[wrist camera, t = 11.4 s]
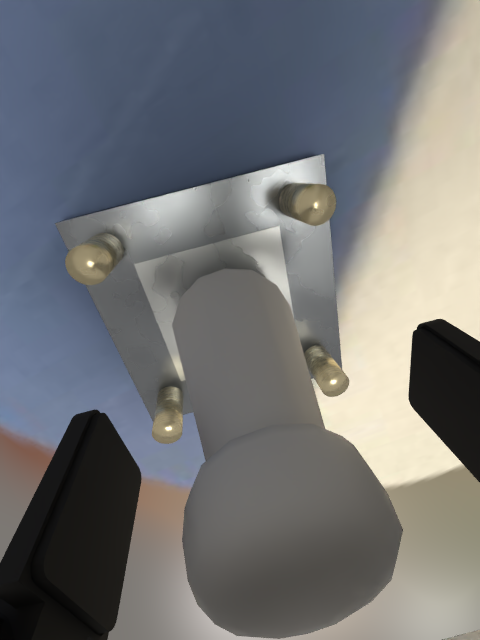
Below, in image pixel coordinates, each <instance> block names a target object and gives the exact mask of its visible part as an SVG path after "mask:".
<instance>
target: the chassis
mask: <svg viewBox="0 0 480 640" xmlns="http://www.w3.org/2000/svg"><path fill="white" fill-rule="evenodd" d="M335 207H336V197H335V194H334V192H333V191H332V189H331V188H330V187H328V186H327V185H326V173H325V161H324V154H322V155H316V156H312V157H308V158H305V159H301V160H297V161H293V162H289V163H285V164H281V165H277V166H273V167H270V168H266V169H262V170H258V171H254V172H250V173H246V174H242V175H238V176H235V177H231V178H227V179H223V180H219V181H215V182H211V183H207V184H203V185H200V186H196V187H192V188H188V189H184V190H180V191H176V192H172V193H168V194H165V195H161V196H157V197H153V198H149V199H145V200H141V201H137V202H133V203H130V204H126V205H122V206H118V207H114V208H110V209H106V210H102V211H98V212H95V213H91V214H87V215H83V216H79V217H75V218H71V219H67V220H63V221H60V222H57V223H55V225H56V227H57V229H58V231H59V233H60V235H61V237H62V239H63V241H64V243H65V245H66V247H67V249H68V251H69V253H68V254H67V256H66V260H65V264H66V268H67V271H68V273H69V274H70V275H71V276H72V278H74V279H75V280H76V281H78V282H80V283H82V284H85V285H86V287H87V289H88V291H89V293H90V295H91V297H92V299H93V301H94V303H95V305H96V307H97V309H98V311H99V313H100V315H101V317H102V319H103V321H104V323H105V325H106V327H107V329H108V331H109V334H110V336H111V338H112V340H113V342H114V344H115V346H116V348H117V350H118V352H119V354H120V356H121V358H122V360H123V362H124V364H125V366H126V368H127V370H128V372H129V374H130V376H131V378H132V380H133V382H134V384H135V386H136V388H137V390H138V392H139V394H140V396H141V398H142V400H143V402H144V404H145V406H146V408H147V410H148V412H149V414H150V416H151V418H152V420H153V422H154V423H153V429H152V436H153V438H154V439H155V440H156V441H157V442H160V443H164V444H169V443H173V442H176V441H177V440H178V439H179V438H180V437H181V435H182V422H183V415H184V414H188V413H191V412H193V408H192V404H191V400H190V396H189V392H188V388H187V384H186V380H185V376H184V372H183V368H182V364H181V360H180V356H179V352H178V348H177V344H176V340H175V336H174V332H173V328H172V323H173V320H174V316H175V313H176V310H177V306H178V303H179V300H180V298H181V297H182V296H183V295H184V293H185V292H186V291H187V290H188V289H189V288H190V287H191V286H192V285H193V284H194V283H195V282H196V280H197V279H198V278H200V277H202V276H205V275H208V274H211V273H213V272H216V271H219V270H222V269H224V268H225V269H245V270H253V271H255V272H256V273H258V274H260V275H261V276H263V277H265V278H266V279H268V280H269V281H271V282H273V283H274V284H276V285H277V286H278V288H279V289H280V291H281V292H282V294H283V295H284V297H285V299H286V300H287V302H288V303H289V305H290V307H291V311H292V314H293V318H294V321H295V325H296V328H297V332H298V335H299V339H300V342H301V346H302V349H303V353H304V356H305V360H306V363H307V367H308V370H309V374H310V377H311V379H312V378H314V379H315V380H316V382H317V384H318V385H319V387H320V389H321V390H322V392H323V393H324V394H325V395H326V396H329V397H334V396H338V395H340V394H342V393H343V392H345V390H346V389H347V388H348V386H349V379H348V377H347V376H346V374H345V373H344V372H343V371H342V362H341V350H340V339H339V327H338V315H337V303H336V291H335V279H334V268H333V256H332V244H331V232H330V220H329V219H330V218H331V216H332V215H333V213H334V211H335Z"/></svg>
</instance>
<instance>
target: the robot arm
mask: <svg viewBox="0 0 480 640" xmlns="http://www.w3.org/2000/svg"><path fill="white" fill-rule="evenodd" d="M409 402H410V404H411V406H412V407H413V409H414V410H415V411H416V412H417V413H418V414H419V416H420V417H421V418H422V419H423V420H424V421H425V422H426V423H427V424H428V426H429V427H430V428H431V429H432V430H433V431H434V432H435V433H436V434H437V436H438V437H439V438H440V439H441V440H442V441H443V442H444V443H445V444H446V446H447V447H448V448H449V449H450V450H451V451H452V452H453V453H454V454H455V456H456V457H457V458H458V459H459V460H460V461H461V462H462V463H463V464H464V466H465V467H466V468H467V469H468V470H469V471H470V472H471V473H472V474H473V475H474V477H475V478H476V479H477V480H478V481H479V482H480V342H479V341H478V340H476V339H474V338H473V337H471V336H470V335H468V334H466V333H465V332H463V331H461V330H460V329H458V328H457V327H455V326H453V325H452V324H450V323H448V322H447V321H445V320H443V319H436V320H433V321H429V322H425V323H421V324H419V325H418V327H417V330H415V331H414V332H413V336H412V351H411V367H410V382H409ZM140 485H141V472H140V469H139V467H138V466H137V464H136V462H135V461H134V459H133V457H132V456H131V454H130V452H129V451H128V449H127V447H126V446H125V444H124V442H123V441H122V439H121V438H120V436H119V434H118V433H117V431H116V429H115V428H114V426H113V424H112V423H111V421H110V419H109V418H108V416H107V415H106V414H105V413H100V412H99V411H98V410H91V411H88V412H84V413H80V414H76V415H75V416H74V417H73V418H72V420H71V422H70V424H69V426H68V428H67V430H66V432H65V434H64V436H63V438H62V440H61V442H60V444H59V446H58V448H57V450H56V452H55V454H54V456H53V458H52V460H51V462H50V464H49V466H48V468H47V470H46V472H45V474H44V476H43V478H42V480H41V482H40V484H39V486H38V488H37V490H36V492H35V494H34V497H33V498H32V500H31V502H30V504H29V506H28V508H27V510H26V512H25V515H24V516H23V518H22V520H21V522H20V524H19V526H18V528H17V531H16V533H15V534H14V536H13V539H12V541H11V542H10V544H9V546H8V548H7V551H6V552H5V555H4V557H3V559H2V561H1V563H0V640H107V638H108V633H109V631H111V630H112V629H113V628H114V626H115V623H116V620H117V615H118V609H119V604H120V598H121V592H122V587H123V581H124V576H125V570H126V564H127V558H128V553H129V547H130V542H131V536H132V530H133V525H134V519H135V513H136V508H137V502H138V497H139V491H140ZM443 640H480V630H477V631H473V632H469V633H465V634H462V635H458V636H454V637H450V638H447V639H443Z"/></svg>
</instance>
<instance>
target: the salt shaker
mask: <svg viewBox="0 0 480 640" xmlns="http://www.w3.org/2000/svg"><path fill="white" fill-rule="evenodd" d="M172 328H173V332H174V336H175V340H176V344H177V348H178V352H179V356H180V360H181V364H182V368H183V372H184V376H185V380H186V384H187V388H188V392H189V396H190V400H191V404H192V408H193V412H194V416H195V420H196V424H197V428H198V432H199V436H200V440H201V444H202V448H203V452H204V456H205V460H206V462H205V463H204V464H202V465H201V468H200V470H199V472H198V475H197V477H196V480H195V482H194V484H193V487H192V489H191V491H190V494H189V497H188V500H187V503H186V506H185V510H184V524H183V538H182V542H183V549H184V556H185V563H186V571H187V577H188V582H189V585H190V587H191V590H192V592H193V594H194V597H195V599H196V602H197V604H198V606H199V607H200V608H201V609H202V610H203V611H204V612H205V614H206V615H207V616H208V617H209V618H210V619H211V620H212V621H213V622H214V624H216V625H218V626H219V627H221V628H223V629H225V630H227V631H229V632H231V633H233V634H235V635H237V636H248V637H263V638H278V639H280V638H286V637H291V636H297V635H303V634H308V633H311V632H314V631H317V630H320V629H323V628H325V627H329V626H331V625H334V624H337V623H338V622H340V621H341V620H343V619H344V618H346V617H348V616H349V615H351V614H352V613H354V612H356V611H357V610H359V609H360V608H362V607H363V606H365V605H367V604H368V603H370V602H371V601H373V599H374V598H375V597H376V596H377V595H378V594H379V593H380V592H381V591H382V589H383V588H384V587H385V586H386V585H387V584H388V583H389V582H390V581H391V579H392V575H393V571H394V567H395V563H396V559H397V555H398V550H399V546H400V541H401V536H402V531H403V529H402V526H401V524H400V522H399V519H398V517H397V515H396V512H395V510H394V507H393V505H392V503H391V500H390V498H389V495H388V494H387V492H386V491H385V489H384V488H383V486H382V485H381V483H380V482H379V480H378V479H377V477H376V476H375V474H374V473H373V472H372V470H371V469H370V467H369V466H368V464H367V463H366V462H365V460H364V459H363V457H362V456H361V455H360V453H359V452H358V450H357V449H356V448H355V446H354V445H353V444H352V443H350V442H349V441H348V440H346V439H345V438H344V437H343V436H340V435H338V434H336V433H333V432H331V431H328V430H326V429H325V426H324V423H323V419H322V416H321V412H320V409H319V405H318V402H317V398H316V395H315V391H314V388H313V384H312V381H311V377H310V374H309V370H308V367H307V363H306V360H305V356H304V353H303V349H302V346H301V342H300V339H299V335H298V332H297V328H296V325H295V321H294V318H293V314H292V311H291V307H290V305H289V303H288V302H287V300H286V299H285V297H284V295H283V294H282V292H281V291H280V289H279V288H278V286H277V285H276V284H274V283H273V282H271V281H269V280H268V279H266V278H265V277H263V276H261V275H260V274H258V273H256V272H255V271H253V270H245V269H225V268H224V269H222V270H219V271H216V272H213V273H211V274H208V275H205V276H202V277H200V278H198V279H197V280H196V282H195V283H194V284H193V285H192V286H191V287H190V288H189V289H188V290H187V291H186V292H185V293H184V295H183V296H182V297H181V298H180V300H179V303H178V306H177V310H176V313H175V316H174V320H173V323H172Z"/></svg>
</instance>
